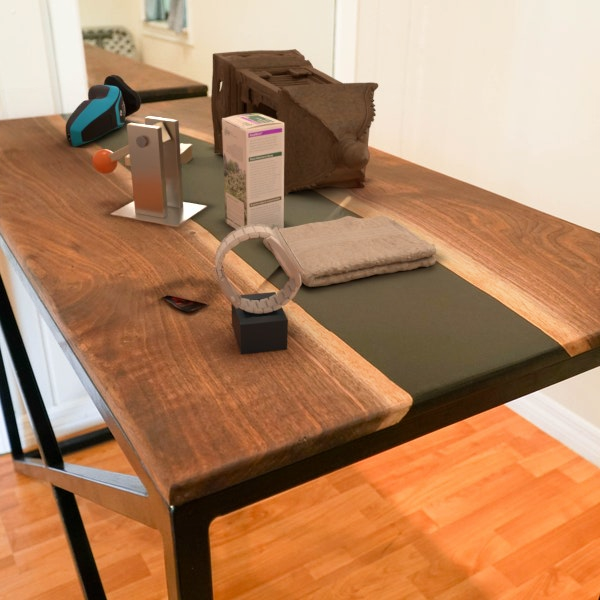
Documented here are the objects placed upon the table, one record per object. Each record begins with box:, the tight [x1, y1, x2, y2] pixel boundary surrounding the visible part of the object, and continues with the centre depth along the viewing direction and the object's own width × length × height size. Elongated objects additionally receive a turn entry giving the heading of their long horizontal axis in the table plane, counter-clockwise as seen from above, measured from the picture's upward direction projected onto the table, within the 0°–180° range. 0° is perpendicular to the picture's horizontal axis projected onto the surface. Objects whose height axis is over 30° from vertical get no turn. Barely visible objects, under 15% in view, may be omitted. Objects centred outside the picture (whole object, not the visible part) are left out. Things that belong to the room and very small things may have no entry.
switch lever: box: [91, 122, 171, 175], centre depth 85 cm, size 12×3×3 cm, turn 69°
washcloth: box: [262, 215, 437, 288], centre depth 78 cm, size 12×18×3 cm, turn 116°
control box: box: [124, 142, 194, 167], centre depth 108 cm, size 10×8×4 cm
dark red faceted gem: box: [157, 294, 208, 313], centre depth 68 cm, size 5×5×1 cm
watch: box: [213, 224, 304, 355], centre depth 60 cm, size 6×8×11 cm
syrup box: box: [222, 113, 285, 230], centre depth 81 cm, size 6×6×14 cm
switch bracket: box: [110, 115, 208, 229], centre depth 85 cm, size 10×8×13 cm
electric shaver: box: [65, 74, 142, 148], centre depth 124 cm, size 9×26×10 cm
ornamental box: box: [210, 48, 379, 196], centre depth 101 cm, size 35×18×18 cm, turn 27°
